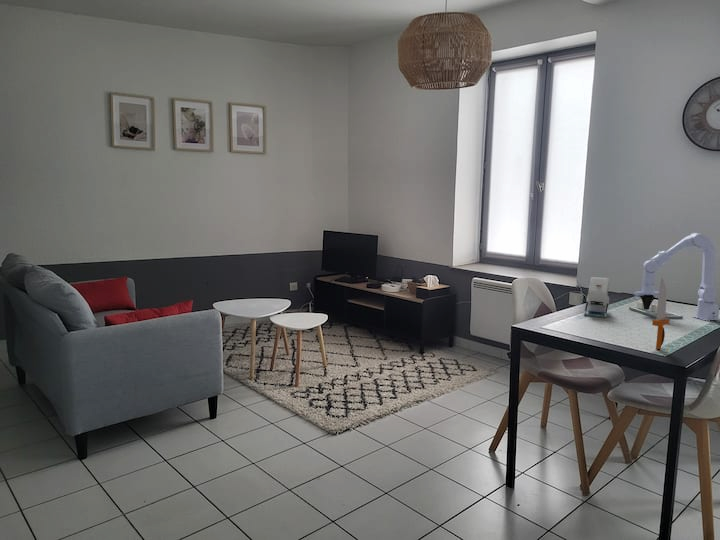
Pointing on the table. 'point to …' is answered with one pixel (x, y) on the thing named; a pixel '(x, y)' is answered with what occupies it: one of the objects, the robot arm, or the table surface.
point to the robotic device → (597, 297)
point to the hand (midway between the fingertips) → (646, 309)
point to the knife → (661, 315)
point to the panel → (652, 314)
